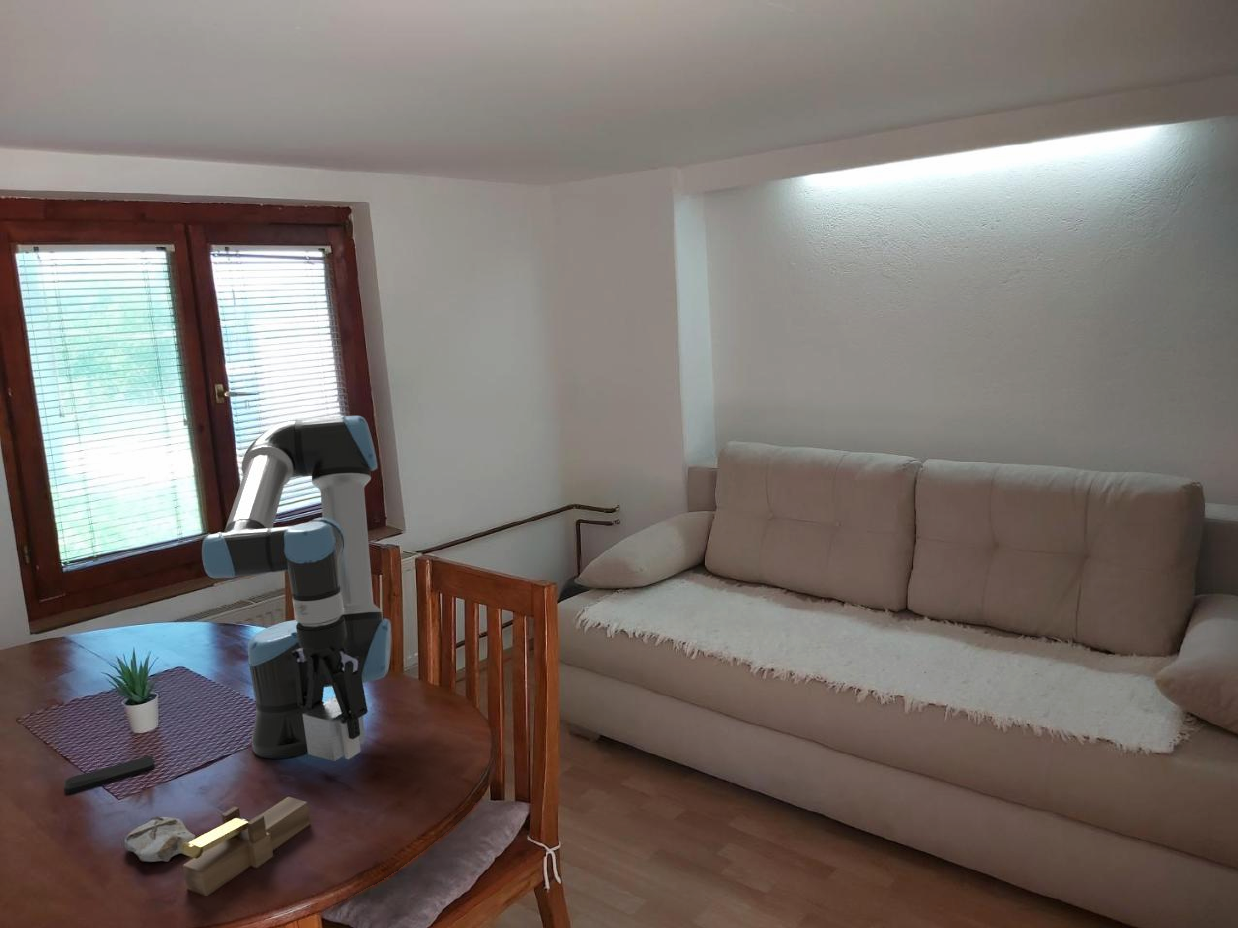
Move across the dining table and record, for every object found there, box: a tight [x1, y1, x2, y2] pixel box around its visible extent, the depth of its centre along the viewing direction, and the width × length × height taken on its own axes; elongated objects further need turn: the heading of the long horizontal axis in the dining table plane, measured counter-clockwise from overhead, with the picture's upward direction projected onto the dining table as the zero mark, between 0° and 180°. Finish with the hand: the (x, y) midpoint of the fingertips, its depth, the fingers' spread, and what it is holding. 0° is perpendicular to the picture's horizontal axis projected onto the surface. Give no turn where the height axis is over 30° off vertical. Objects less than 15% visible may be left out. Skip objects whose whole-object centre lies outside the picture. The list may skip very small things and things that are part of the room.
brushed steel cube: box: [303, 696, 367, 762], centre depth 152 cm, size 6×7×7 cm
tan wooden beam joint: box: [182, 796, 311, 898], centre depth 145 cm, size 7×20×7 cm, turn 151°
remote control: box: [64, 755, 156, 795], centre depth 174 cm, size 5×2×15 cm
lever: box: [179, 816, 250, 859], centre depth 140 cm, size 4×2×11 cm
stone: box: [124, 816, 196, 863], centre depth 150 cm, size 12×9×3 cm
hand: (337, 750), depth 153 cm, fingers closed on brushed steel cube, 6 cm apart
